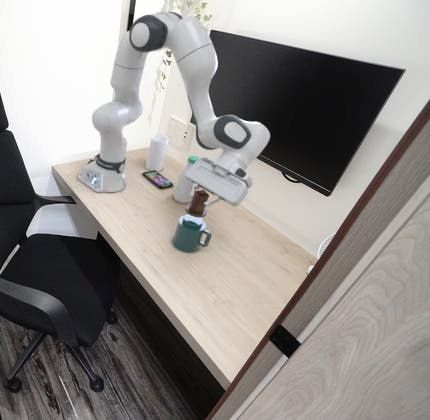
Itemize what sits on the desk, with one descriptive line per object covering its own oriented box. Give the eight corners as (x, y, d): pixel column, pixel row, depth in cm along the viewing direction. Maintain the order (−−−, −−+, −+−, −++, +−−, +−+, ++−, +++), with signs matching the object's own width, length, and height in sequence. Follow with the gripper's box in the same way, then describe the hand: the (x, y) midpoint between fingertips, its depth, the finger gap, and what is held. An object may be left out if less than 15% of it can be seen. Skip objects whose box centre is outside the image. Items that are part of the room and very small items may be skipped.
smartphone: (155, 169, 161) (174, 184, 149) (154, 171, 161) (174, 186, 150) (141, 172, 158) (160, 187, 147) (141, 174, 159) (160, 189, 147)
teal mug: (167, 243, 118) (175, 219, 111) (179, 232, 123) (187, 208, 116) (198, 260, 111) (208, 235, 104) (209, 248, 116) (219, 223, 110)
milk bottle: (192, 204, 138) (206, 163, 126) (174, 202, 139) (185, 161, 128) (190, 195, 144) (203, 154, 133) (172, 193, 146) (183, 152, 134)
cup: (165, 170, 162) (172, 140, 153) (150, 172, 160) (157, 142, 151) (156, 163, 169) (163, 134, 159) (142, 164, 167) (148, 135, 157)
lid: (181, 211, 109) (188, 189, 104) (190, 203, 113) (197, 182, 108) (200, 220, 105) (208, 198, 100) (209, 211, 109) (217, 190, 104)
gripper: (198, 151, 109) (171, 182, 111) (254, 178, 95) (222, 214, 97) (203, 159, 114) (177, 190, 116) (257, 187, 100) (226, 221, 102)
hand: (198, 201), depth 106 cm, fingers closed on lid, 4 cm apart
